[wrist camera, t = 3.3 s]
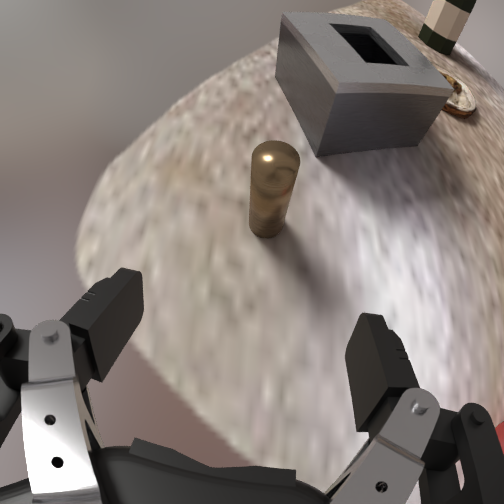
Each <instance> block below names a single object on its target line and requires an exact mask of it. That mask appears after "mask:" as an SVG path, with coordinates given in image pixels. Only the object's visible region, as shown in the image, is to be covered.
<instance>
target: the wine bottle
mask: <svg viewBox="0 0 504 504" xmlns="http://www.w3.org/2000/svg"><path fill="white" fill-rule="evenodd" d="M475 3H476V0H433V2H432V5H431V8H430V10H429V12H428V15H427V17H426V20H425V22H424V24H423V27H422V29H421V31H420V34H419V36H418V37H419V38H420V39H421V40H422V41H423V42H424V43H425V44H426V45H428V46H429V47H431V48H433V49H434V50H436V51H438V52H439V53H443V54H447V55H450V53H451V51H452V49H453V47H454V45H455V44H456V42H457V40H458V37H459V36H460V34H461V32H462V30H463V27H464V26H465V23H466V22H467V20H468V17H469V15H470V13H471V11H472V9H473V7H474V5H475Z"/></svg>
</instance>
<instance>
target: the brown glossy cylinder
mask: <svg viewBox="0 0 504 504" xmlns="http://www.w3.org/2000/svg"><path fill="white" fill-rule="evenodd" d="M299 166H300V157H299V154H298V152H297V151H296V150H295V149H294V148H293V147H292V146H291V145H289V144H287V143H285V142H282V141H266V142H263V143H261V144H260V145H258V146H257V147H256V148H255V149H254V151H253V153H252V163H251V186H250V209H249V226H250V229H251V230H252V232H253V233H254V234H255V235H257V236H259V237H261V238H272V237H274V236H276V235H277V234H279V233H280V231H281V230H282V227H283V223H284V220H285V216H286V213H287V209H288V206H289V202H290V199H291V195H292V191H293V188H294V184H295V180H296V177H297V173H298V169H299Z"/></svg>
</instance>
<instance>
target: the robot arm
mask: <svg viewBox="0 0 504 504" xmlns="http://www.w3.org/2000/svg"><path fill="white" fill-rule="evenodd" d="M143 311H144V301H143V281H142V274H141V272H140V271H135V270H131V269H126V268H120V269H119V270H118V271H117V272H116V273H115V274H114V275H113V276H112V277H111V278H105V279H103V280H101V281H99V282H97V283H95V284H94V285H93V286H92V287H91V288H90V289H89V290H88V292H87V293H85V294H84V295H83V296H82V298H81V299H79V300H78V301H77V302H76V304H74V306H73V307H72V308H71V309H70V310H69V311H68V312H67V313H66V314H65V315H64V316H63V317H62V318H61V319H60V320H59V321H58V320H47V321H44V322H41V323H39V324H38V325H36V326H35V327H34V328H33V329H32V331H31V330H21V329H15V328H14V325H13V322H12V319H11V318H10V317H9V316H7V315H5V314H0V448H1V445H2V444H3V442H4V440H5V438H6V437H7V435H8V433H9V431H10V430H11V428H12V426H13V424H14V423H15V421H16V419H17V418H18V416H19V414H20V413H21V411H22V423H23V435H24V444H25V452H26V459H27V465H28V472H29V478H27V479H24V480H21V481H19V482H16V483H13V484H10V485H7V486H4V487H1V488H0V504H405V503H406V501H407V499H408V498H409V496H410V494H411V492H412V490H413V488H414V486H415V485H416V483H417V481H419V488H420V497H421V504H504V454H503V451H502V447H501V444H500V441H499V439H498V436H497V433H496V430H495V427H494V425H493V422H492V419H491V417H490V415H489V413H488V412H487V410H486V409H485V408H484V407H482V406H481V405H479V404H476V403H467V404H465V405H464V406H463V407H462V408H461V410H460V411H459V412H454V411H450V410H446V409H442V408H440V406H439V403H438V401H437V399H436V398H435V397H434V396H433V395H432V394H431V393H430V392H428V391H426V390H424V389H421V388H420V387H419V384H418V381H417V379H416V376H415V373H414V371H413V368H412V365H411V363H410V360H408V355H407V353H406V352H405V348H404V345H403V343H402V341H401V339H400V338H399V337H398V336H397V334H396V333H395V332H394V331H393V330H388V327H387V325H386V322H385V320H384V317H383V316H382V315H377V314H370V313H362V314H361V315H360V316H359V319H358V321H357V324H356V326H355V328H354V331H353V333H352V336H351V338H350V340H349V342H348V345H347V348H346V354H345V361H346V367H347V373H348V379H349V385H350V391H351V397H352V403H353V410H354V417H355V424H356V431H357V432H368V433H369V439H368V440H367V441H366V442H365V444H364V445H363V446H362V448H361V449H360V450H359V452H358V453H357V455H356V456H355V457H354V459H353V460H352V461H351V462H350V464H349V465H348V466H347V468H346V469H345V470H344V471H343V473H342V474H341V475H340V476H339V478H338V479H337V480H336V481H335V482H334V483H333V484H332V485H331V486H330V487H329V488H328V489H327V491H326V492H325V493H323V492H321V491H320V490H318V489H317V488H315V487H313V486H311V485H309V484H307V483H304V482H302V481H299V480H296V470H291V469H279V468H270V467H261V466H247V467H227V468H212V467H209V466H206V465H204V464H202V463H200V462H198V461H195V460H193V459H191V458H189V457H187V456H185V455H183V454H181V453H179V452H177V451H175V450H173V449H171V448H167V447H163V446H160V445H157V444H153V443H150V442H147V441H144V440H141V439H138V438H134V441H133V443H132V445H131V446H113V447H104V444H103V441H102V439H101V436H100V433H99V430H98V427H97V423H96V420H95V415H94V412H93V408H92V403H91V399H90V394H89V390H88V386H87V384H88V382H89V380H90V379H91V378H92V379H94V380H97V381H99V382H103V380H104V379H105V377H106V375H107V374H108V372H109V371H110V369H111V367H112V366H113V364H114V362H115V361H116V359H117V357H118V356H119V354H120V353H121V351H122V349H123V348H124V346H125V345H126V343H127V342H128V340H129V339H130V337H131V336H132V334H133V332H134V331H135V329H136V328H137V326H138V325H139V323H140V321H141V319H142V316H143ZM459 460H460V461H461V465H462V470H463V474H464V486H463V488H462V490H460V484H459V479H458V474H457V470H456V465H455V463H456V462H457V461H459Z"/></svg>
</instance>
